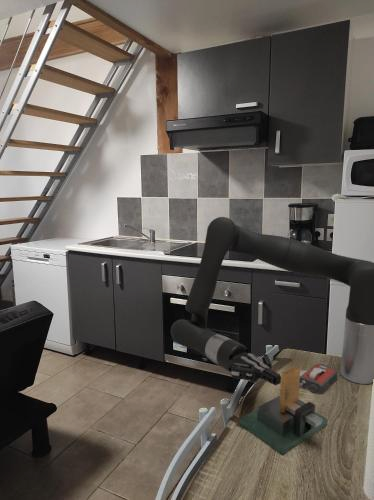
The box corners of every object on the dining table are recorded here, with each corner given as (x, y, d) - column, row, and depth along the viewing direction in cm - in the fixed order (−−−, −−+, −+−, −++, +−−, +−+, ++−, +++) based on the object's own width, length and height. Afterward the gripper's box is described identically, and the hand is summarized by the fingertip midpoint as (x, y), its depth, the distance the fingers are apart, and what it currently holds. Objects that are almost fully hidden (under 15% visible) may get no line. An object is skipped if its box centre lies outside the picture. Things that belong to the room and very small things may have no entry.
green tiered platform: (284, 400, 93) (285, 374, 92) (326, 424, 84) (329, 396, 83) (239, 424, 84) (241, 395, 82) (282, 454, 74) (284, 423, 73)
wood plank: (293, 402, 84) (295, 366, 82) (325, 420, 78) (329, 381, 76) (279, 410, 81) (281, 372, 79) (311, 430, 75) (315, 389, 73)
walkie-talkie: (310, 368, 111) (276, 394, 96) (311, 354, 110) (277, 379, 96) (340, 378, 105) (308, 408, 90) (341, 364, 104) (309, 392, 90)
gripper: (207, 345, 92) (260, 374, 79) (244, 333, 100) (297, 357, 87) (206, 373, 94) (258, 405, 80) (242, 359, 102) (295, 386, 88)
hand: (278, 380), depth 83 cm, fingers closed
